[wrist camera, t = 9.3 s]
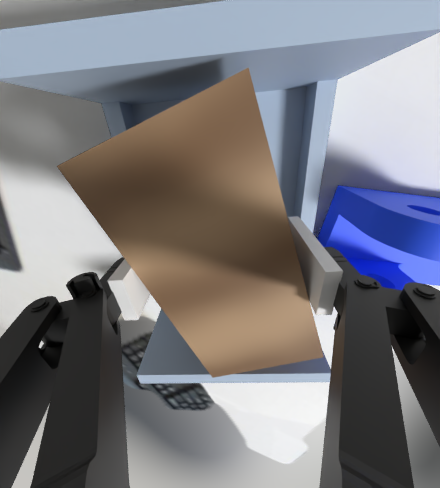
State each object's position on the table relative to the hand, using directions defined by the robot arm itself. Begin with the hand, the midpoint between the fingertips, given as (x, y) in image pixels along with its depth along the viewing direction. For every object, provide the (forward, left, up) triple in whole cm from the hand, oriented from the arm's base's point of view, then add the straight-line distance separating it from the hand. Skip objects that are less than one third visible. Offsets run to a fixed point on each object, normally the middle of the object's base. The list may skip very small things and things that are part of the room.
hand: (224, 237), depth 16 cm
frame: (0, 0, -5) cm, 5 cm away
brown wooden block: (0, 0, -1) cm, 1 cm away
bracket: (+4, +18, -5) cm, 20 cm away
